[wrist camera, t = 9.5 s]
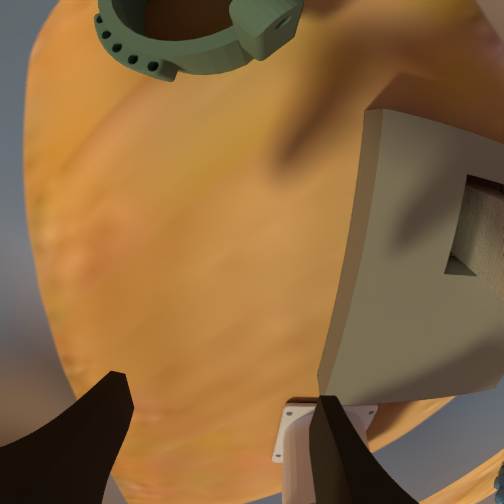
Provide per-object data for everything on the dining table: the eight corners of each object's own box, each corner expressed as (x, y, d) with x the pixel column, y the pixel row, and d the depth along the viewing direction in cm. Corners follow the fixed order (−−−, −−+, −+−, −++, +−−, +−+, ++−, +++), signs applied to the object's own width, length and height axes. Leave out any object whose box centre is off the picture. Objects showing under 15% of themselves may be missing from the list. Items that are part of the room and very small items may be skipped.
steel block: (480, 245, 17) (553, 303, 10) (436, 240, 18) (509, 304, 10) (492, 188, 16) (576, 228, 9) (448, 178, 16) (536, 217, 9)
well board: (481, 366, 22) (495, 388, 19) (317, 375, 22) (321, 405, 19) (547, 168, 15) (573, 176, 12) (364, 110, 15) (383, 108, 12)
